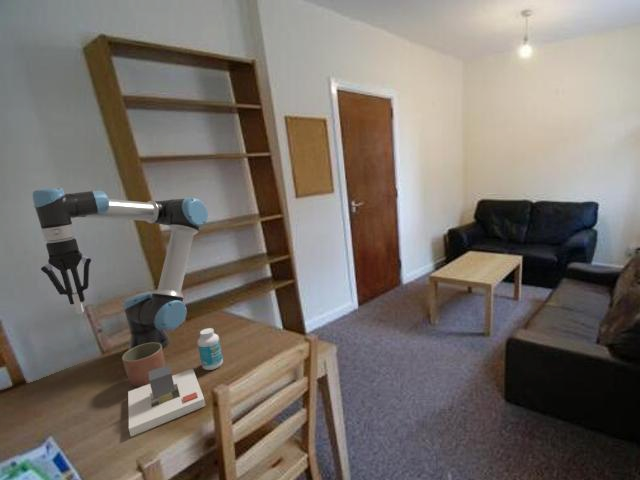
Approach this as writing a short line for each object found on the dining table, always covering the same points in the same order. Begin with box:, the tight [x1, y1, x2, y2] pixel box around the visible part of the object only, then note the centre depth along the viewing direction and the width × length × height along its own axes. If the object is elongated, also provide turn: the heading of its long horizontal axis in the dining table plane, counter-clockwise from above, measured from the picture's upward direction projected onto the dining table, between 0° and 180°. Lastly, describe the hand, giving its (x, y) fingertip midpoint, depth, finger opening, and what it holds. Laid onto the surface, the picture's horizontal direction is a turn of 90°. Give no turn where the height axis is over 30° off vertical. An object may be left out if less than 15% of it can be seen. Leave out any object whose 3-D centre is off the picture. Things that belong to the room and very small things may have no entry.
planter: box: [121, 342, 166, 388], centre depth 119 cm, size 12×12×11 cm
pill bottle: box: [197, 327, 224, 371], centre depth 123 cm, size 8×7×14 cm
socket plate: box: [127, 368, 207, 438], centre depth 106 cm, size 20×20×3 cm
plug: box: [148, 364, 175, 404], centre depth 105 cm, size 6×6×10 cm
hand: (80, 312), depth 108 cm, fingers closed
